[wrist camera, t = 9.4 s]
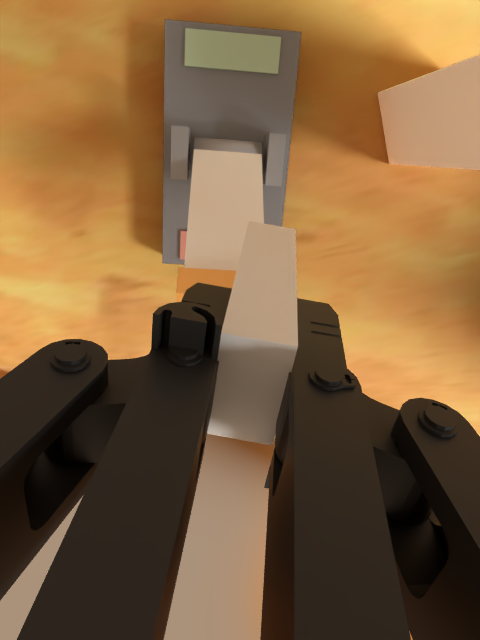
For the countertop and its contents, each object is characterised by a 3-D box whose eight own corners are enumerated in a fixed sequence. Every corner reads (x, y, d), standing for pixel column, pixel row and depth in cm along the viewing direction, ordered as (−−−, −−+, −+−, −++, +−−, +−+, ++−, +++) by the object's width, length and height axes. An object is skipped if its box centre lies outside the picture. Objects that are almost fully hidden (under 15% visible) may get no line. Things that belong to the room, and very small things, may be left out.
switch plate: (273, 261, 42) (283, 280, 36) (166, 255, 42) (157, 273, 35) (294, 41, 36) (311, 18, 30) (168, 29, 35) (159, 3, 29)
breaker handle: (261, 162, 36) (266, 319, 29) (191, 157, 36) (177, 315, 28) (265, 134, 34) (272, 297, 27) (191, 128, 34) (176, 292, 26)
